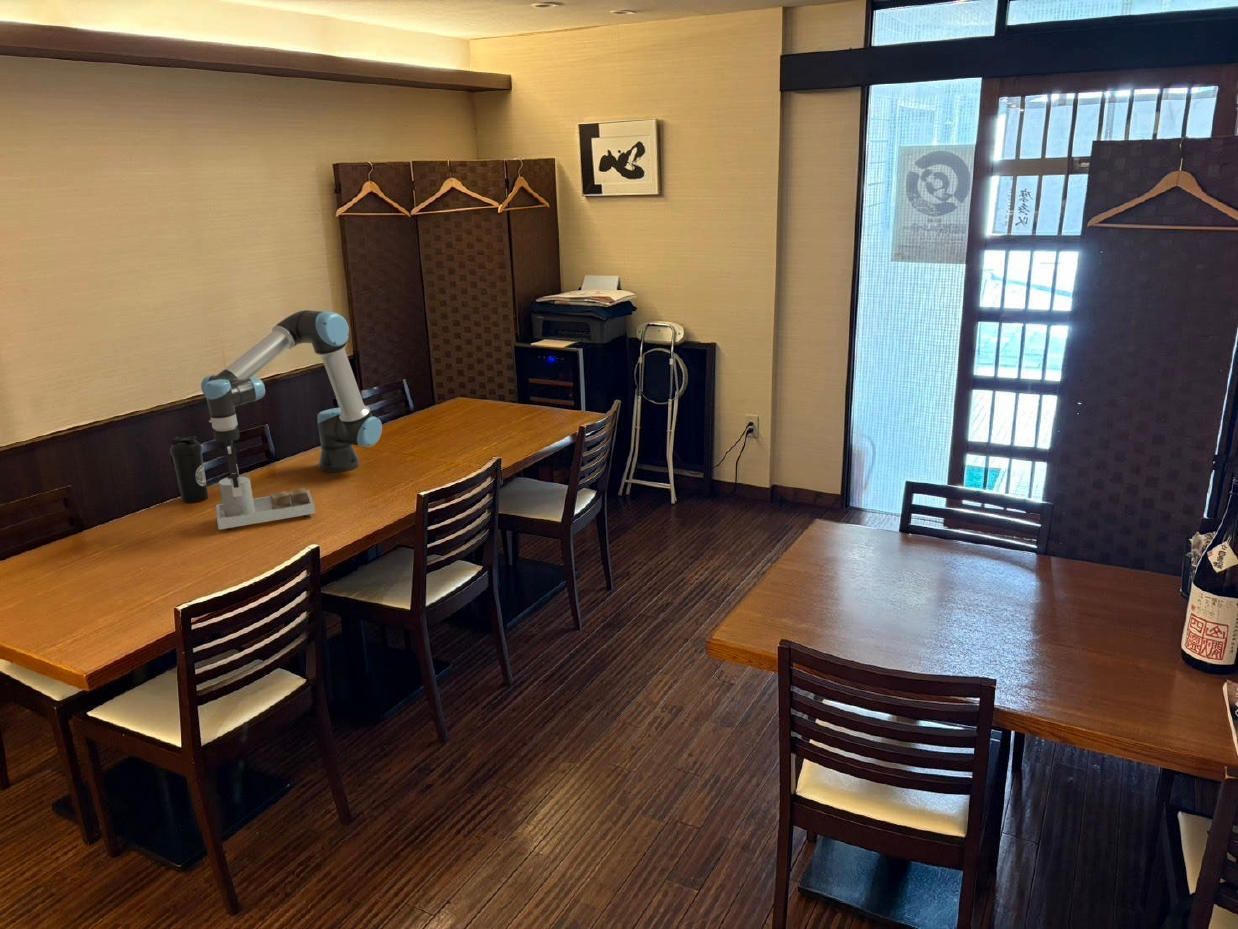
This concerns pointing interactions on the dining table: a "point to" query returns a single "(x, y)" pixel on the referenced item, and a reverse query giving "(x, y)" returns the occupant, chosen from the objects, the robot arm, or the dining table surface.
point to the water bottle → (189, 469)
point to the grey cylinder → (237, 503)
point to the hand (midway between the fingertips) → (237, 489)
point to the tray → (264, 513)
